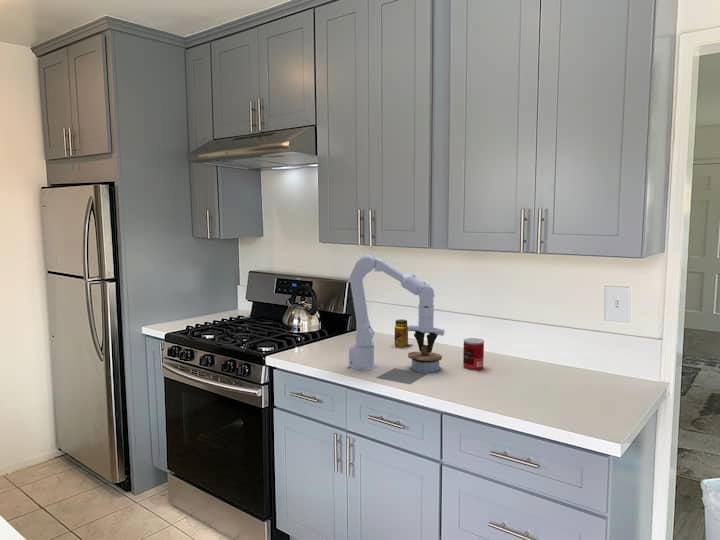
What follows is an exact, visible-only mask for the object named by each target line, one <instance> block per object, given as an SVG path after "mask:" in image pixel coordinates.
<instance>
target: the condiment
mask: <svg viewBox="0 0 720 540" xmlns="http://www.w3.org/2000/svg"><path fill="white" fill-rule="evenodd" d="M408 326H409V325H408V320H406V319H396V320H395V325H394V345H395V347H398V348H397V349H406V350H407V349H408V348H410V347H412V346H413V345H414V343H409V331H408ZM395 347H394V348H395ZM406 347H407V348H406Z"/></svg>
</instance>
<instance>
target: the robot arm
mask: <svg viewBox="0 0 720 540" xmlns="http://www.w3.org/2000/svg"><path fill="white" fill-rule="evenodd" d="M372 271H374V272H383V273H385V274H386V275H387V276H389V277H391V278H393V279H395V280H397V281H398V282H399V283H400V286H401V287H402V288H403V289H405V290H407V291H408V292H410V293H411V294H413V295H415V296H418V298H419V301H418V302H419V304H418V321H417V322H418V324H417V325H407V326H408V332H415V333H413V336H414V339H415V341H416V342H417V346H418V348H419V349H418V351H419V352H421V346H422V345H425V344H424V343H425V335H426V340H427V341H426V342H427V345H428V353H430V352H432V353H433V347H434V345H435V342H436V339H437V338H438V336H444V335H445V329H442V328H438V327H434V314H435V313H434V311H435V310H434V308H435V307H434V306H435V305H434V301H435V300H434V298H435V291H434V288H433V287H432V286H431V285H430V284H428V283H427V282H426V281H422V280H420V279H419V278H417V276H416V275H415V274H411V273H407V274H405V273H403V272H401V271H400V270H399V269H397V268H396V267H394V266H393V265H391V264H389V263H388V262H386V260H383V259H381V258H379V257H378V256H376V257H375V255H373V254H371V253H365V254H364V255H363V256H361V257H360V258H359V259H358V260H357V261H356V262H355V264H354V267H353V269H352V271H351V273H350V274H349V281H350V290H351V297H352V302H353V308H354V314H355V321H356V334H355V343H352V344H351V345H350V346H349V348H348V349H349V350H348V366H347V367H348V368H349V367H350V368H349V369H356V370H362V371H368V372H369V371H371V370H373V369H375V368H377V367H378V366H379V364H375V342H373V338H374V336H375V333H374V330H373V328H372V325H371V323H370V320H369V314H368V307H367V302H366V301H367V300H366V296H365V295H366V293H365V288H364V281H363V280H364V278H365V277H366V275H367V274H369V273H371V272H372Z"/></svg>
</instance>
